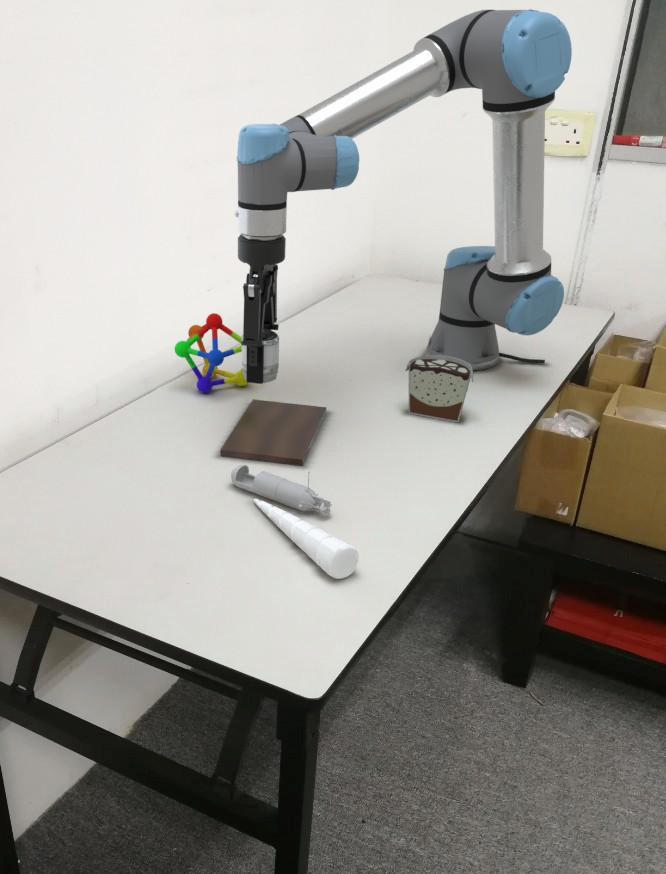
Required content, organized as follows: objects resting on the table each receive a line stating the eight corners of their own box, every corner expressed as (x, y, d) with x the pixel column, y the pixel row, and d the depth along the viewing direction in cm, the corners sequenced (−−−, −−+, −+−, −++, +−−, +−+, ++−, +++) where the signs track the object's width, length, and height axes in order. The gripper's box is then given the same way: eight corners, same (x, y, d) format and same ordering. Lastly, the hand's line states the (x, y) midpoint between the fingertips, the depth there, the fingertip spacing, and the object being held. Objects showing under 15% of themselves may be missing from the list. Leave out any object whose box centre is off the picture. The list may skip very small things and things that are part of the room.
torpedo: (223, 489, 134) (223, 451, 130) (242, 477, 137) (242, 440, 134) (320, 525, 125) (323, 486, 121) (338, 512, 128) (340, 473, 125)
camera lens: (285, 375, 147) (286, 330, 143) (265, 386, 143) (266, 341, 138) (254, 367, 150) (254, 323, 146) (234, 378, 145) (234, 333, 141)
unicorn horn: (275, 496, 132) (276, 468, 129) (359, 575, 114) (362, 545, 112) (248, 503, 130) (248, 475, 127) (329, 585, 112) (331, 554, 110)
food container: (474, 411, 160) (482, 360, 155) (466, 424, 155) (474, 371, 150) (410, 400, 164) (415, 349, 159) (400, 412, 160) (406, 360, 154)
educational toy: (169, 399, 166) (159, 322, 158) (199, 377, 176) (191, 303, 169) (242, 405, 160) (235, 326, 153) (269, 382, 170) (263, 306, 163)
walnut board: (326, 413, 159) (326, 407, 158) (302, 466, 141) (302, 459, 140) (252, 405, 162) (253, 399, 161) (220, 456, 143) (220, 449, 143)
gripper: (253, 220, 142) (252, 353, 155) (221, 247, 127) (223, 393, 139) (297, 223, 141) (293, 357, 153) (270, 251, 125) (268, 398, 137)
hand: (259, 374), depth 146 cm, fingers closed on camera lens, 6 cm apart
